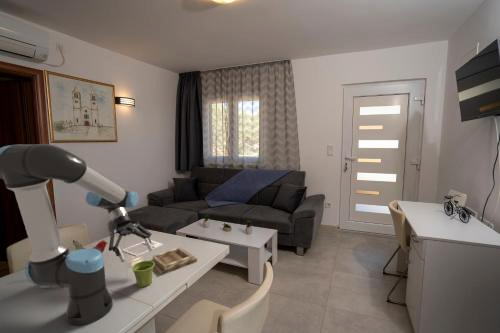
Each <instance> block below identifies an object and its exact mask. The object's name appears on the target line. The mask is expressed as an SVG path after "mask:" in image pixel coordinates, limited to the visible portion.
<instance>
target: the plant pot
mask: <svg viewBox="0 0 500 333" xmlns="http://www.w3.org/2000/svg"><path fill="white" fill-rule="evenodd" d="M153 266H154V262H153V261H150V260H142V261H140V262H139V261H138V262H136V263H134V264H133V265H132V267H131V271H133V273H134V276H135V281H136V284H137V287H140V288H144V287H148V286H150V285H151V284H152V282H153V274H154V272H153V271H154V269H153Z"/></svg>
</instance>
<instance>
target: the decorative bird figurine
mask: <svg viewBox="0 0 500 333" xmlns="http://www.w3.org/2000/svg"><path fill="white" fill-rule="evenodd" d="M108 244H109V242H107V241H105V240H101V241H99V242H98V243H97V244H96V245H95V246H93V247H92V248H93V249H97V250H99V251H100V252H101V253H102V254H103V253H104V252H105V249H106V247H107V245H108Z"/></svg>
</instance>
